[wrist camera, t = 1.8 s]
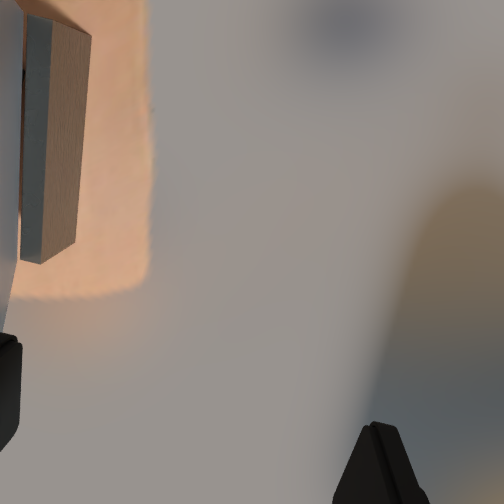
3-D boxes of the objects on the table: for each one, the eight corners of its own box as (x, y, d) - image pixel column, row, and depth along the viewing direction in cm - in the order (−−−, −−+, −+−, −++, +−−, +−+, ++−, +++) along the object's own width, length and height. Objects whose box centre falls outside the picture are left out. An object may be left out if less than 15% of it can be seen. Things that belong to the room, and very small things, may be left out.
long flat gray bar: (70, 30, 37) (27, 13, 30) (91, 36, 37) (52, 19, 30) (57, 238, 44) (20, 259, 37) (75, 242, 44) (40, 264, 38)
